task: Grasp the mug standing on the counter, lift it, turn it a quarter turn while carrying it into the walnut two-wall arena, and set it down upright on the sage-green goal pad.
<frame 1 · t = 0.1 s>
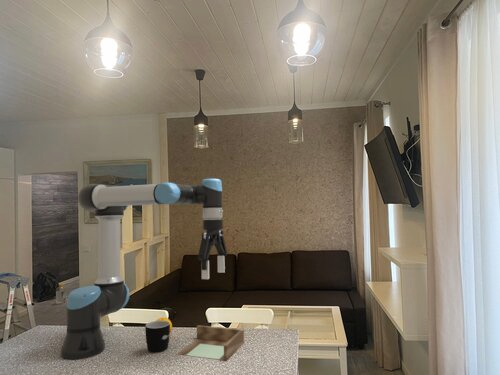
hand: (213, 275, 131), 28 cm above the table, fingers open, 13 cm apart
arena: (211, 351, 130), on the table
mug: (159, 350, 132), on the table
yellow orange fruit: (162, 336, 148), on the table
goal pad: (209, 351, 127), resting on arena
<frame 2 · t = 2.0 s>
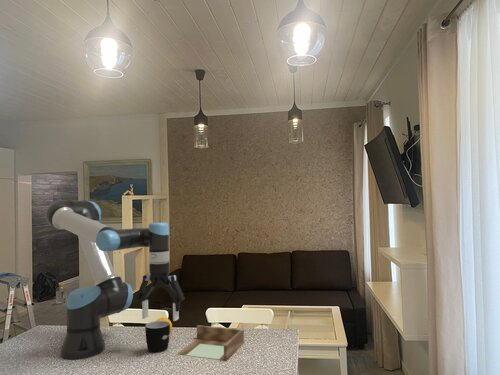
hand: (160, 318, 132), 12 cm above the table, fingers open, 13 cm apart
nothing on the table moved.
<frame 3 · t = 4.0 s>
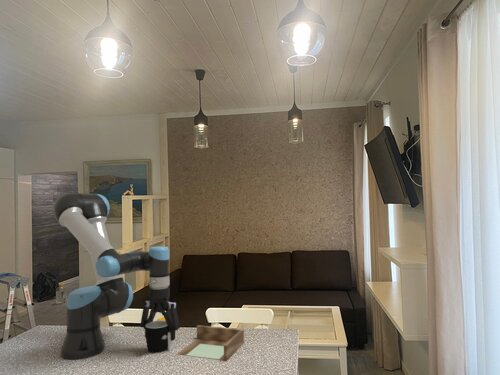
hand: (160, 347, 132), 1 cm above the table, fingers closed on mug, 9 cm apart
mug: (159, 350, 132), on the table, touching gripper
everything else where it was.
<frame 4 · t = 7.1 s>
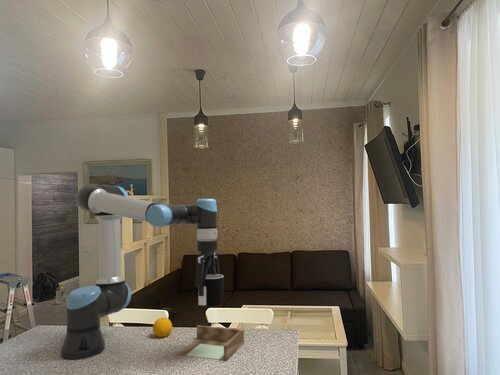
hand: (208, 301, 128), 19 cm above the table, fingers closed on mug, 9 cm apart
mug: (208, 304, 128), point 18 cm above the table, touching gripper
everything else where it was.
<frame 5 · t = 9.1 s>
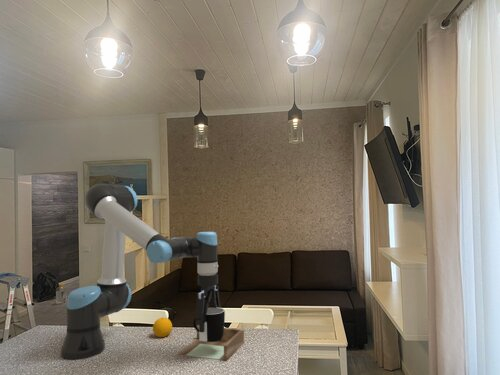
hand: (209, 336, 127), 7 cm above the table, fingers closed on mug, 9 cm apart
mug: (209, 339, 127), point 5 cm above the table, touching gripper
everything else where it was.
when the fingers open (4 cm above the table, at t = 10.7 s): mug drops 1 cm, resting on goal pad.
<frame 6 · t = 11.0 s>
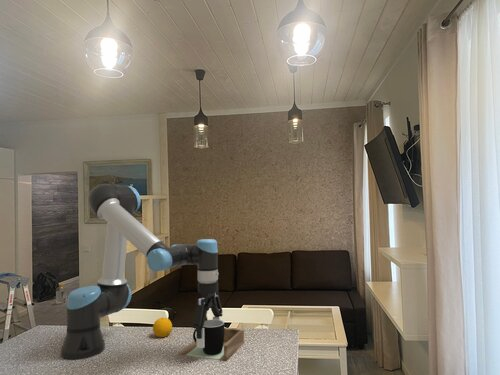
hand: (208, 340, 127), 5 cm above the table, fingers open, 13 cm apart
mug: (208, 352, 126), point 1 cm above the table, touching goal pad
everything else where it was.
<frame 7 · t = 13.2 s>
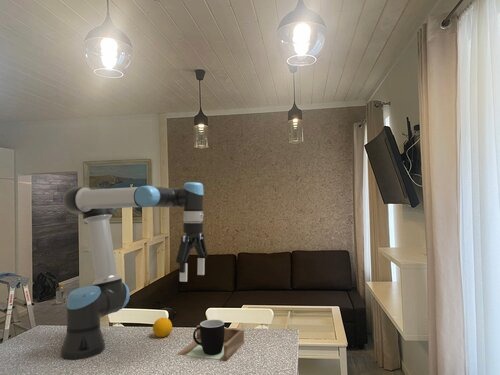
hand: (192, 278, 133), 27 cm above the table, fingers open, 13 cm apart
nothing on the table moved.
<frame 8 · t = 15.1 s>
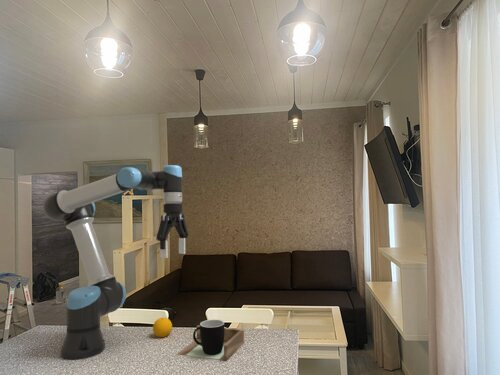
hand: (173, 255, 140), 35 cm above the table, fingers open, 13 cm apart
nothing on the table moved.
at the end: mug inside the target area (0.4 cm from its centre), point 1.0 cm above the table; mug tilted 0°; the gripper is holding nothing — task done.
